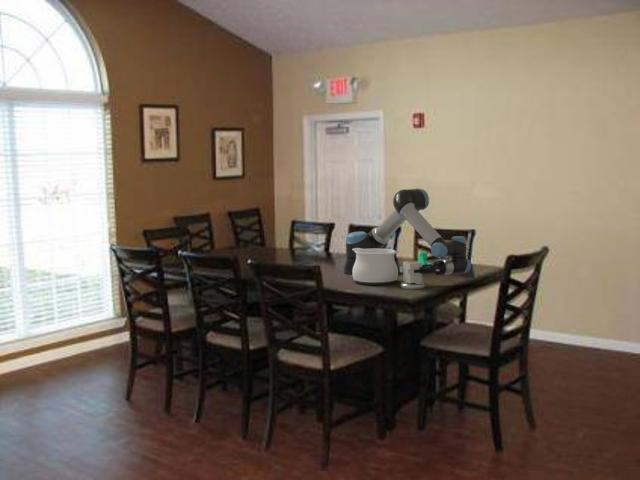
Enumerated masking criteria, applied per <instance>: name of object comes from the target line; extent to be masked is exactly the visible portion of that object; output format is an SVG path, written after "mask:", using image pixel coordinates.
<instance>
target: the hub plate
mask: <svg viewBox="0 0 640 480" xmlns="http://www.w3.org/2000/svg"><path fill="white" fill-rule="evenodd" d="M424 288H425V282H423V281H422V282H417V283H408V282H405V281H402V282H400V289H403V290H421V289H424Z"/></svg>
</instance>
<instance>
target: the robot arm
mask: <svg viewBox="0 0 640 480" xmlns="http://www.w3.org/2000/svg"><path fill="white" fill-rule="evenodd" d="M429 200H430V197H429V194H428V193H427V191H426V190H425V189H423V188H409V189H408V188H407V189H400V190H398V191H397V192H395V194H394V196H393V200H392V203H393V207H394V210H393V211H392V212H391V213H390V214H389V215H388V216H387V217H386V218H385V219H384V220H383V221H382V222H381V224H380V225H378V226H375V227H373V228H372V229H371V231H369V232H368V233H367V232H365V231H353V232H349V233H347V235H346V239H345V246H346V247H345V249H346V250H345V252H346V253H345V254H346V255H345V257H346V260H345V263H344V266H343V273H344V274H347V275H353V274H352V271H353V266H354V264H355V261H356V253H355V251H356V250H355V251H353V250H352V249H354V248H361V249H387V247H388V245H389V244H388V243H389V241H390V240H389V239H390V237H391V236H392V235H393V234H394V232H396V231H397V230H398V229H399V228H400V226H401V225H403V224H404V223H405V222H406V221H407V222H408V223H409V224H410V226H412V227H413V229H415V230H414V231H416V232H417V233H418V234H419V235H420V237H422V239H423V240H424V241H425V242H426V244H428V246H429V247H430V252H431V254H432V256H433V257H435V258H437V257H446V256H452V260H449V259H448V260H441V259H440V260H435V261H433V263H432V264H433V265H432V264H429V265H427V264H424V265H422V267H420V269H419V268H412V269H407V274H419V273H421V274H422V275H426V274H428V275H429V274H435V275H436V276H442V275H443V276H444V275H446V276H449V275H458V274H466V273H468V272H470V271H471V269H472V264H471V260H470V259H469V258H467V238H466V237H465V236H463V235H460V236H459V235H455V236H452V237H451V240H449V241H446V240H445V239H444V238H443V237H442V236H441V235H440V234H439V233H438V231H437V230H436V229H435V228H434V227H433V226H432V224H430V223H429V221H428V220H427V219H426V218H425V217H424V216H423V215H422V214H421V213H420V211H424V210H426V209H427V208H428V207H429V204H430V201H429ZM399 272H400V273H403V266H399Z"/></svg>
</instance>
